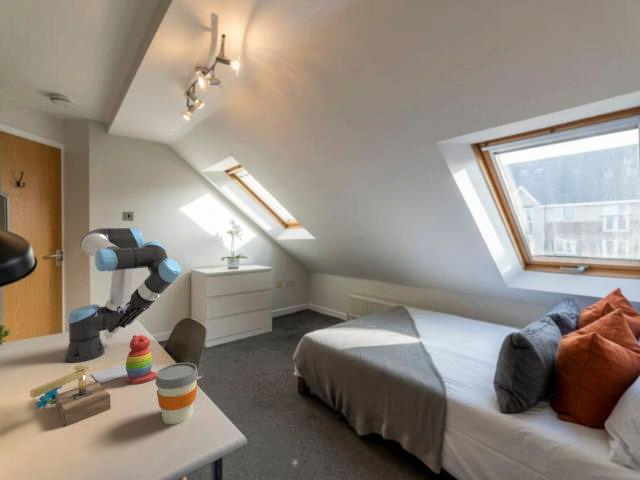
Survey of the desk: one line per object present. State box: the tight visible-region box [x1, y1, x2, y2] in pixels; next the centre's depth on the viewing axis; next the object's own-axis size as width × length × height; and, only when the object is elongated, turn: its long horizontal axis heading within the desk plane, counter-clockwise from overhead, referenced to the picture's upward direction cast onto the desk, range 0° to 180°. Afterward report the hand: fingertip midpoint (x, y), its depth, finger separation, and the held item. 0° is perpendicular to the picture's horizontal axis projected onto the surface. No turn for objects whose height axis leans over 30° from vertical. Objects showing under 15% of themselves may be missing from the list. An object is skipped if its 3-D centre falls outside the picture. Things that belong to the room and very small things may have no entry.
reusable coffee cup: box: [155, 362, 199, 425], centre depth 102 cm, size 12×13×15 cm
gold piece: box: [29, 364, 90, 399], centre depth 99 cm, size 15×5×9 cm, turn 160°
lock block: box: [54, 381, 112, 427], centre depth 105 cm, size 14×12×5 cm
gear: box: [36, 386, 63, 409], centre depth 110 cm, size 11×6×10 cm
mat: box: [90, 363, 128, 385], centre depth 131 cm, size 12×12×1 cm
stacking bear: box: [125, 334, 157, 385], centre depth 126 cm, size 11×10×18 cm
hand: (107, 336), depth 117 cm, fingers closed
